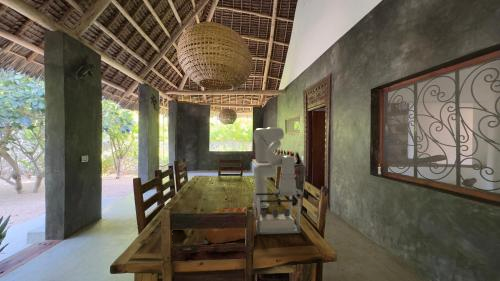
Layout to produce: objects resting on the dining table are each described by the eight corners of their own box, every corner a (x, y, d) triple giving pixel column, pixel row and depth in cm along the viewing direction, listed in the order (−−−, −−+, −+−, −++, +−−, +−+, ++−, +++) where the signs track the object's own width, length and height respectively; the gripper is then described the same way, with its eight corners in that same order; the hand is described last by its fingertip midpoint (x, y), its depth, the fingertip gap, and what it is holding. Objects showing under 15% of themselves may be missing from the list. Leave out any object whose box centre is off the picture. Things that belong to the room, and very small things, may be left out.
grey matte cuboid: (284, 216, 137) (283, 209, 138) (288, 216, 137) (288, 209, 138) (285, 216, 135) (284, 209, 137) (289, 216, 136) (289, 209, 137)
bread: (258, 237, 122) (259, 208, 122) (210, 246, 111) (210, 215, 111) (248, 227, 135) (249, 201, 134) (204, 234, 124) (204, 206, 124)
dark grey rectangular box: (272, 216, 136) (272, 209, 137) (277, 216, 136) (277, 209, 138) (273, 216, 135) (273, 209, 136) (278, 216, 135) (277, 209, 136)
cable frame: (252, 222, 143) (253, 191, 142) (290, 221, 146) (291, 191, 145) (257, 234, 126) (257, 199, 125) (300, 232, 129) (301, 199, 128)
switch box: (257, 224, 139) (257, 214, 139) (289, 223, 142) (289, 213, 142) (260, 231, 130) (260, 220, 129) (294, 230, 132) (294, 219, 132)
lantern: (172, 246, 128) (196, 247, 106) (168, 215, 132) (190, 210, 110) (185, 242, 133) (210, 242, 111) (181, 213, 137) (204, 207, 115)
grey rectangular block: (261, 216, 135) (261, 209, 136) (266, 216, 136) (265, 209, 137) (261, 217, 134) (261, 209, 135) (266, 216, 134) (266, 209, 135)
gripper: (299, 175, 141) (298, 202, 141) (272, 175, 138) (271, 203, 139) (303, 177, 133) (303, 206, 134) (275, 177, 131) (274, 207, 131)
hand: (287, 204), depth 136 cm, fingers open, 9 cm apart
